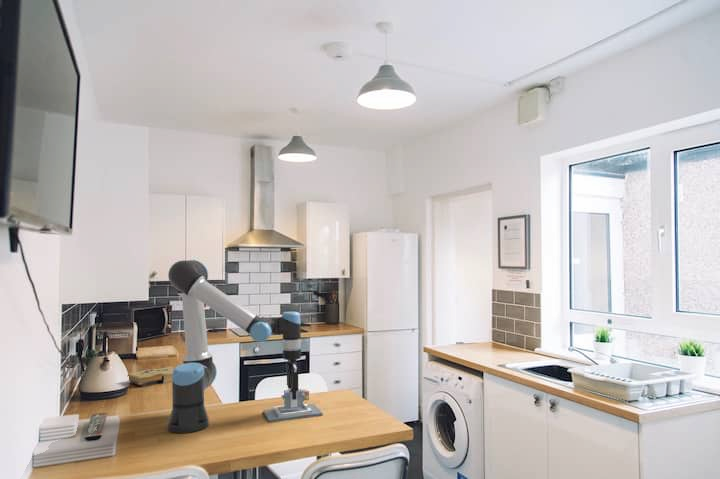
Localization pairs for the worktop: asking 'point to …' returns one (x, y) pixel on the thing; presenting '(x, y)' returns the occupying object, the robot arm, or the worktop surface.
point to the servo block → (288, 402)
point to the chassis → (291, 412)
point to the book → (152, 376)
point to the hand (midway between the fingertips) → (292, 405)
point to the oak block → (305, 394)
